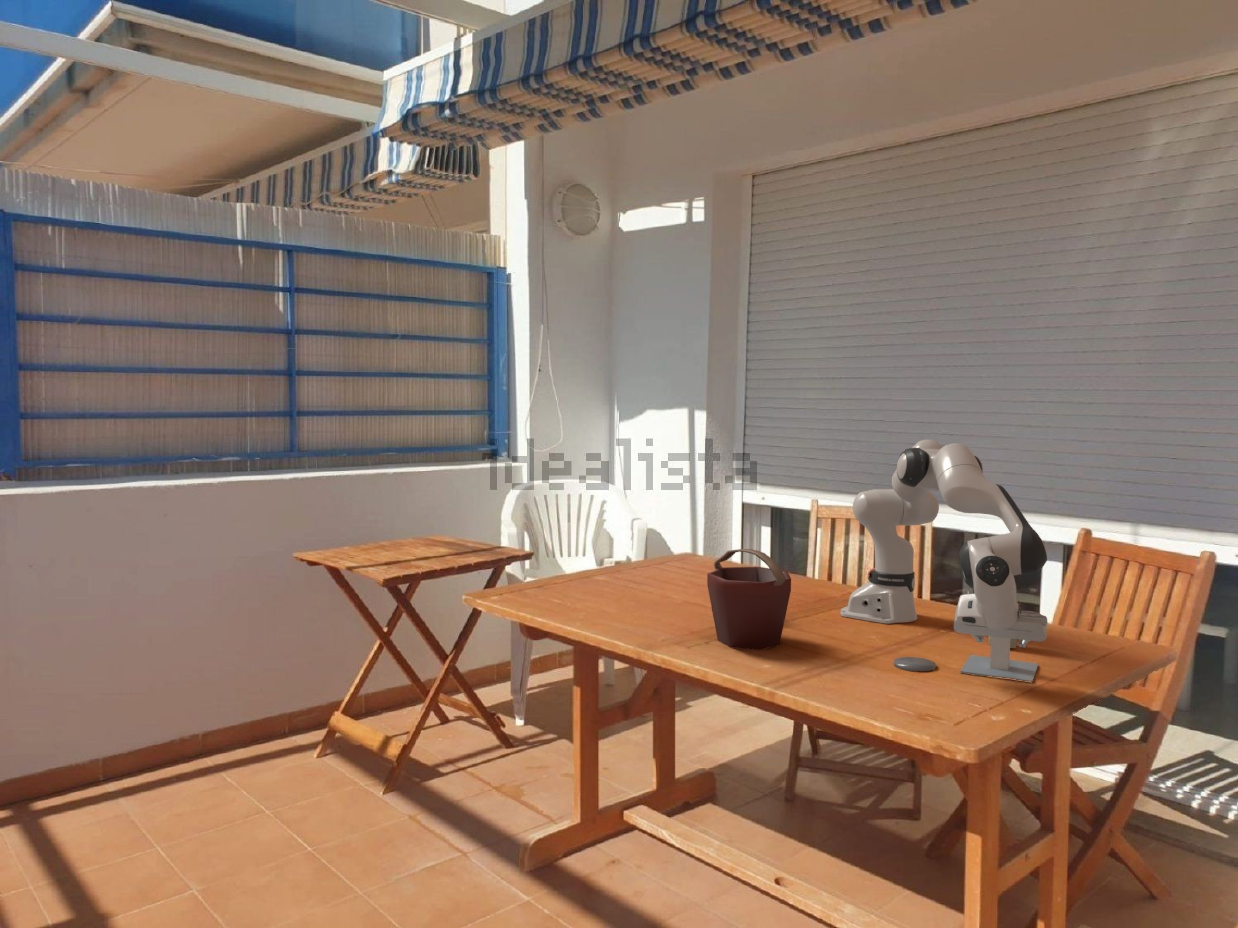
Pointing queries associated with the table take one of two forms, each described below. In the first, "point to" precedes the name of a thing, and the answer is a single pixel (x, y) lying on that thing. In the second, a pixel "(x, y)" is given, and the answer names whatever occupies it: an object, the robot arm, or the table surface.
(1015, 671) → the tile
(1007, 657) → the block
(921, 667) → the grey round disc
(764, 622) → the bucket
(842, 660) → the table surface
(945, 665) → the table surface
